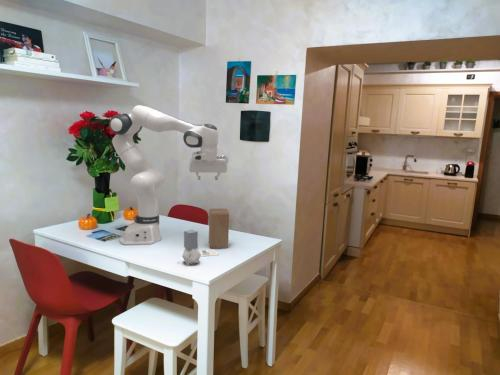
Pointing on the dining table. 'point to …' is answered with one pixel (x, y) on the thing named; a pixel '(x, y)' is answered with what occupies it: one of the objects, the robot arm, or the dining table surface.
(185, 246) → the brick
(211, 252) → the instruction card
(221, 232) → the block
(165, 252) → the dining table surface
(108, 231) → the dining table surface
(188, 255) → the die
